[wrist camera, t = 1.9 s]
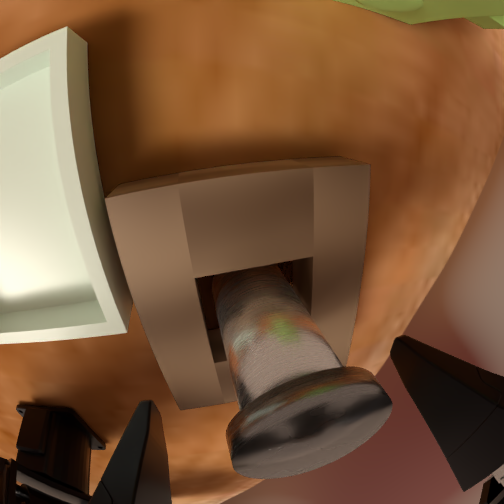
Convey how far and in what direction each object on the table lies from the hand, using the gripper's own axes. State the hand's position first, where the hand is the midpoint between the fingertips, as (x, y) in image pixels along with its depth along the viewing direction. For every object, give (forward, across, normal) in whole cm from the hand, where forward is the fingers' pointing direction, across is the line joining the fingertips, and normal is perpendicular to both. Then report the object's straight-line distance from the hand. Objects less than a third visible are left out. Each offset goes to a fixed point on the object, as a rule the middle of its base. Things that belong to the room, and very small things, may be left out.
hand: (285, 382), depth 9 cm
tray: (+6, +11, -7) cm, 14 cm away
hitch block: (+6, 0, 0) cm, 6 cm away
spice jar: (+6, 0, 0) cm, 6 cm away
